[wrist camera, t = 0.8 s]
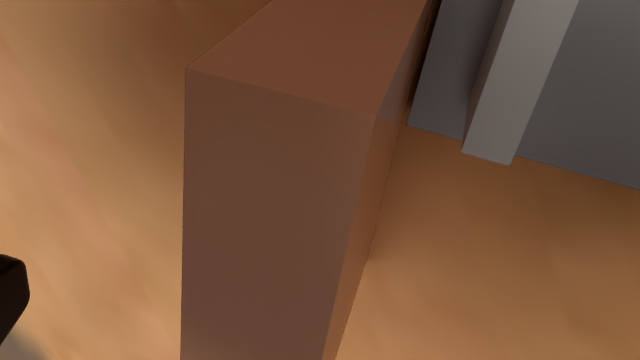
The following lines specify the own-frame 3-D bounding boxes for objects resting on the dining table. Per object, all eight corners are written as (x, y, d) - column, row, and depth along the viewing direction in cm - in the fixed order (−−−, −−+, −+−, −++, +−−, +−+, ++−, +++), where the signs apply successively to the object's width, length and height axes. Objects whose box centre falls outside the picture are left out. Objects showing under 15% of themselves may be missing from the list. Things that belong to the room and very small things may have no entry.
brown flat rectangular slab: (439, -29, 14) (376, 116, 7) (366, 260, 19) (290, 501, 12) (336, -50, 14) (185, 68, 7) (291, 238, 19) (178, 461, 12)
